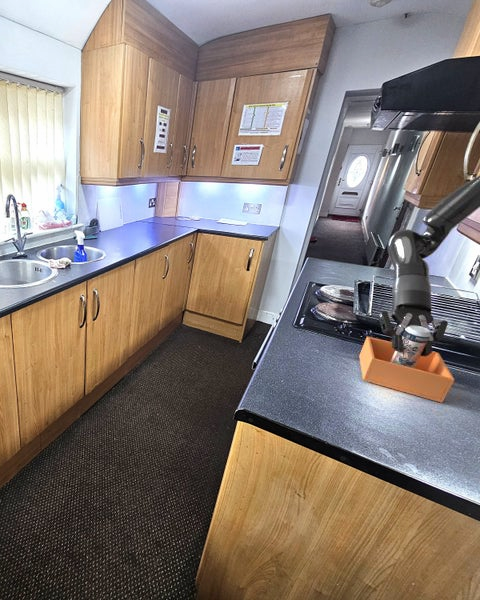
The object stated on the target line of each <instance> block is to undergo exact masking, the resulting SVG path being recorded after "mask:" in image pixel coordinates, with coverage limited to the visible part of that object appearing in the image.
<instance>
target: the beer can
mask: <svg viewBox="0 0 480 600" xmlns="http://www.w3.org/2000/svg"><path fill="white" fill-rule="evenodd" d="M430 330H431V329H430ZM430 330H428V329H427V328H424V327H421V326H416V325H410V326H409V327H407V328H406V329H404V331H403V333H402V335H401V336H402V350H401V351H399V352H398V351H395V353H394V355H393V357H392V360H391V361H390V363H394V364H398V365H402V366H406V367H410V368H414V367H415V365H416V363H417V361H418V359H419V357H420V355H421V353H422V351H423V349H424V347H425V345H426V343H427V341H428V339H429V337H430V336H431V335H432V333H431V332H430Z"/></svg>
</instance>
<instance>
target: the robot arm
mask: <svg viewBox="0 0 480 600" xmlns="http://www.w3.org/2000/svg"><path fill="white" fill-rule="evenodd" d="M479 209H480V174H479V175H478V176H476V177H475V178H473V179H471V180H470V181H468V182H466V183H465V184H463V185H462V186H460V187H458V188H457V189H455V190H454V191H452V192H451V193H450V194H448V195H447V196H446V197H444V198H443V199H442V200H440V202H438V203H437V204H436V205H435V206H434V207H433V208H432V209H430V210H429V211H428V212H427V213H426V214H425V215H424V216H422V219H421V221H422V223H423V224H424V225H425V226H426V228H425V230H424V231H423V233H422V234H421V233H420V232H417V231H415V230H412V229H405V228H404V229H401V230H397V231H396V232H394V233H393V234H392V235H391V236H390V238H389V239H388V242H387V252H388V253H387V254H388V257H389V258H390V263H391V265H392V267H393V284H392V291H391V295H392V297H391V303H392V304H391V307H392V308H391V309H392V311H389V312H387V311H386V310H383V311H381V312H380V313H378V314H377V318H378V322H379V324H380V328H381V332H382V334H383V335H388V336H390V338H391V342H392V348H393V349H394V351H398V352H399V351H401V350H402V336H403V333H404V331H405V329H406V328H407V327H409V326H410V325H416V326H421V327H424V328H427V329H428V330H430V333H431V330H432V329H431V328H430V326H429V325H430V324H431V325H432V328H433V331H432V333H431V336H430V337H429V339H428V341H427V343H426V345H425V347H424V349H423V351H422V353H421V356H424V357H426V356H428V355H429V354H431V353H432V351H433V344H436V343H438V342H440V341H443V339H444V335H445V333H446V330H447V328H448V324H449V322H448V321H447V320H445V319H444V320H439V319H436V318H434V316H433V315H432V310H433V308H432V286H431V282H430V281H431V280H430V265H429V264H428V262H427V261H426V260H424V259H426V258H428V257H430V256H432V255H433V254H434V253H435V252H437V250H438V249H439V247H440V246H441V245H442V244H443V242H444V241H445V240H446V238H448V236H449V235H450V233H451V232H452V231H453V230H454V228H456V227H458V226H459V225H460V224H461V223H462V222H464V221H465V220H466V219H467V218H469V217H470V216H471V215H472V214H474V213H475V212H476V211H478V210H479ZM391 319H392V320H393V321H394V322H395V323H396V324H395V325H394V327H393V325H392V322H391Z"/></svg>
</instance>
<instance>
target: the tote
mask: <svg viewBox="0 0 480 600" xmlns="http://www.w3.org/2000/svg"><path fill="white" fill-rule="evenodd" d="M394 353H395V351H394V349H393V348H392V341H389V340H386V339H385V340H384V339H380V338H376V337H373V336H366V338H365V340H364V343H363V346H362V348H361V351H360V353H359V356H358V357H359V363H360V369H361V375H362V380H363V381H365V382H368V383H372V384H375V385H379V386H382V387H387V388H389V389H393V390H396V391H399V392H404V393H407V394H410V395H413V396H417V397H421V398H424V399H427V400H431V401H434V402H438V403H441V404H443V403H444V400H445V398H446V397H447V395H448V394H449V391H450V390H451V388H452V386H453V384H454V382H455V378H454V377H453V374H452V373H451V371H450V370H449V368H448V366H447V365H446V363H445V361H444V360H443V358H442V356H441V354H440V353H439V352H436V351H433V350H432V353H431V354H429V355H428V356H426V357H424V356H421V355H420V357H419V359H418V361H417V363H416V365H415V367H414V368H410V367H406V366H402V365H398V364H394V363H390V361H391V360H392V357H393V355H394Z"/></svg>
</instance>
